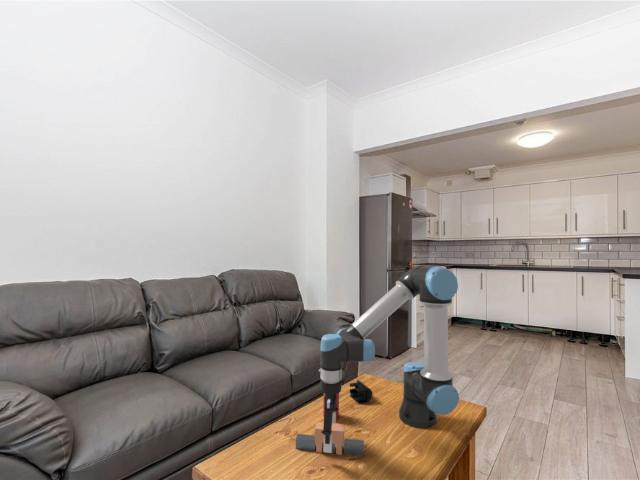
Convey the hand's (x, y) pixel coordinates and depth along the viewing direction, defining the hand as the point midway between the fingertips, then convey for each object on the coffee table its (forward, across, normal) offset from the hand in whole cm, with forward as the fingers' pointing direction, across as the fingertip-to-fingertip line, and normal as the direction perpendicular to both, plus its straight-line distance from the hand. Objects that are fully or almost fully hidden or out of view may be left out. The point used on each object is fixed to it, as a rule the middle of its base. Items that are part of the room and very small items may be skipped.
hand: (329, 440), depth 116 cm
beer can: (+4, -22, -2) cm, 22 cm away
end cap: (+4, -41, +10) cm, 42 cm away
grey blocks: (+3, 0, 0) cm, 3 cm away
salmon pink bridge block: (+3, 0, 0) cm, 3 cm away
